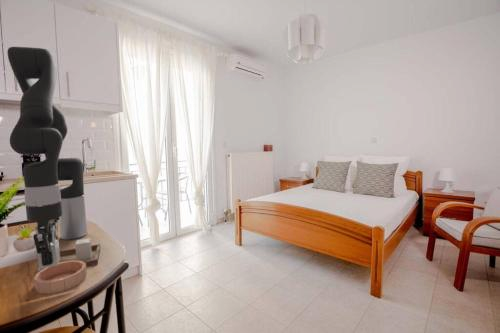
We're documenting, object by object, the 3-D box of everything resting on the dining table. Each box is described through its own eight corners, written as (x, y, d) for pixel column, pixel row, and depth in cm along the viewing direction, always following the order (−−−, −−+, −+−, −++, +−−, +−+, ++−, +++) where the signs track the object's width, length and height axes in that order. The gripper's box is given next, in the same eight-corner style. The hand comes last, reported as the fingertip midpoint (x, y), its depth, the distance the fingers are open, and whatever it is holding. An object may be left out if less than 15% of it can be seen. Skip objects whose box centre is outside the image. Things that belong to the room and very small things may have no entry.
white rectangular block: (78, 256, 86) (76, 240, 85) (92, 254, 88) (90, 238, 87) (76, 261, 82) (75, 244, 82) (90, 259, 84) (89, 242, 83)
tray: (48, 258, 86) (47, 252, 85) (100, 248, 93) (100, 243, 93) (36, 277, 74) (35, 271, 74) (97, 265, 81) (97, 259, 81)
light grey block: (42, 262, 70) (40, 242, 70) (60, 259, 72) (58, 239, 72) (38, 268, 67) (36, 247, 66) (57, 265, 69) (55, 244, 68)
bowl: (42, 277, 74) (41, 266, 74) (88, 267, 79) (87, 257, 79) (30, 299, 64) (28, 286, 63) (83, 286, 69) (82, 275, 69)
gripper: (34, 197, 72) (40, 253, 74) (16, 209, 60) (23, 277, 61) (65, 194, 76) (70, 248, 77) (54, 205, 63) (61, 269, 65)
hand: (49, 260), depth 69 cm, fingers closed on light grey block, 4 cm apart
